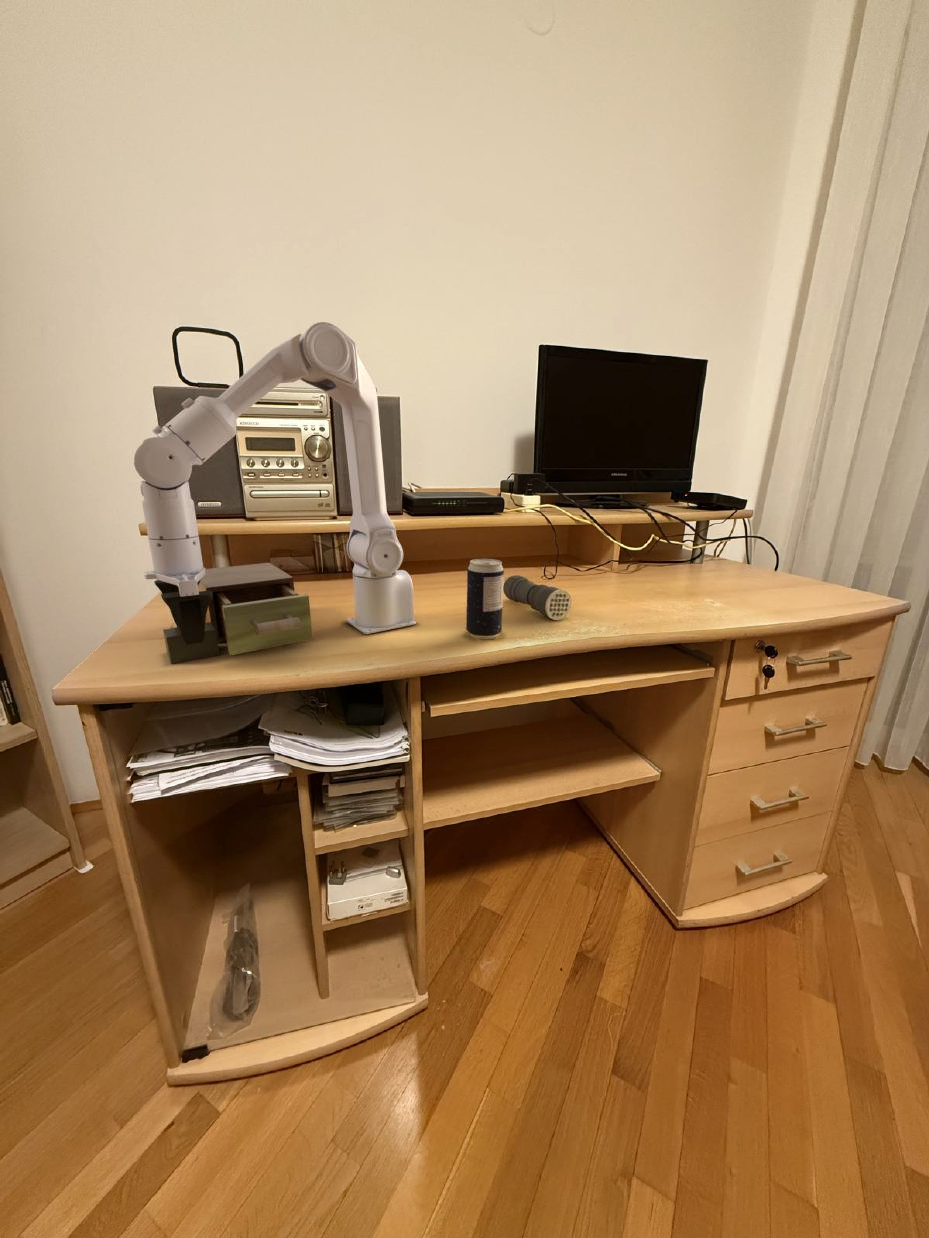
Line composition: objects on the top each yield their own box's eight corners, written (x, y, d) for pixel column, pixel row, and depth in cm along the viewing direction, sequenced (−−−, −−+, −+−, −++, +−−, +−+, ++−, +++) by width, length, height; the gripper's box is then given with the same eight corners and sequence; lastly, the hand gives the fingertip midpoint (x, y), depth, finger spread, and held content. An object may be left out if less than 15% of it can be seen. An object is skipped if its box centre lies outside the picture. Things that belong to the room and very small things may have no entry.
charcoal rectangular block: (214, 646, 72) (210, 621, 71) (219, 654, 69) (216, 629, 68) (167, 654, 69) (162, 629, 68) (171, 664, 66) (166, 637, 65)
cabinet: (298, 628, 80) (293, 577, 78) (214, 643, 73) (205, 587, 71) (274, 608, 91) (269, 562, 88) (198, 619, 84) (190, 570, 81)
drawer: (323, 648, 70) (320, 603, 67) (238, 666, 63) (231, 616, 61) (286, 617, 83) (282, 578, 81) (212, 630, 76) (206, 587, 74)
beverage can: (499, 629, 82) (502, 558, 78) (503, 641, 76) (506, 565, 73) (465, 628, 82) (466, 557, 78) (466, 640, 76) (468, 565, 72)
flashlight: (499, 600, 99) (500, 574, 97) (522, 597, 101) (523, 571, 99) (546, 621, 86) (548, 591, 84) (570, 617, 88) (572, 588, 87)
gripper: (133, 531, 67) (151, 625, 71) (142, 547, 56) (162, 657, 60) (191, 528, 71) (204, 617, 75) (210, 542, 60) (224, 646, 64)
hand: (190, 634), depth 68 cm, fingers open, 7 cm apart
